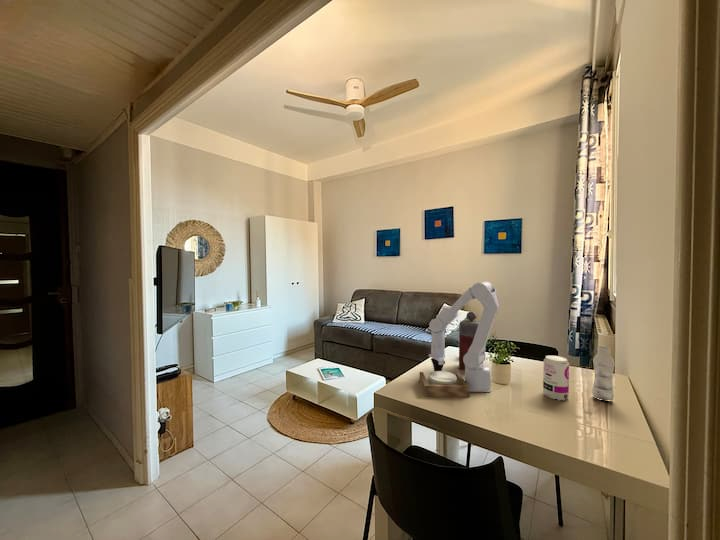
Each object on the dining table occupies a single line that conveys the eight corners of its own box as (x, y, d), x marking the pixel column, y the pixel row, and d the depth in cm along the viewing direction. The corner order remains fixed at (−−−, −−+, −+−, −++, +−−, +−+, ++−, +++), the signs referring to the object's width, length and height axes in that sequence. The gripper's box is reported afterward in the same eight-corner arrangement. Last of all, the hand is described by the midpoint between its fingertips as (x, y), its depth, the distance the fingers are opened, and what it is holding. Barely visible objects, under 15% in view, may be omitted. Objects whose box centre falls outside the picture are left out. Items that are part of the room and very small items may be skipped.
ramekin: (440, 396, 117) (440, 383, 117) (423, 385, 127) (423, 373, 127) (462, 391, 121) (462, 378, 121) (444, 381, 132) (444, 369, 131)
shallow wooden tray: (459, 381, 130) (459, 372, 130) (469, 397, 116) (469, 386, 116) (419, 380, 132) (419, 371, 131) (424, 396, 117) (424, 385, 117)
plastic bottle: (610, 397, 115) (611, 346, 114) (616, 405, 109) (618, 351, 108) (589, 394, 118) (590, 344, 117) (594, 402, 112) (596, 348, 111)
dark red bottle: (484, 366, 149) (485, 310, 148) (477, 373, 140) (478, 313, 139) (466, 363, 154) (466, 308, 153) (458, 369, 145) (459, 311, 144)
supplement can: (570, 396, 117) (570, 357, 116) (566, 403, 111) (567, 363, 110) (545, 389, 122) (546, 353, 122) (540, 396, 116) (541, 358, 116)
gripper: (426, 340, 141) (425, 369, 142) (431, 349, 127) (431, 381, 127) (441, 340, 141) (441, 369, 141) (448, 350, 126) (448, 382, 127)
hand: (437, 375), depth 134 cm, fingers closed
